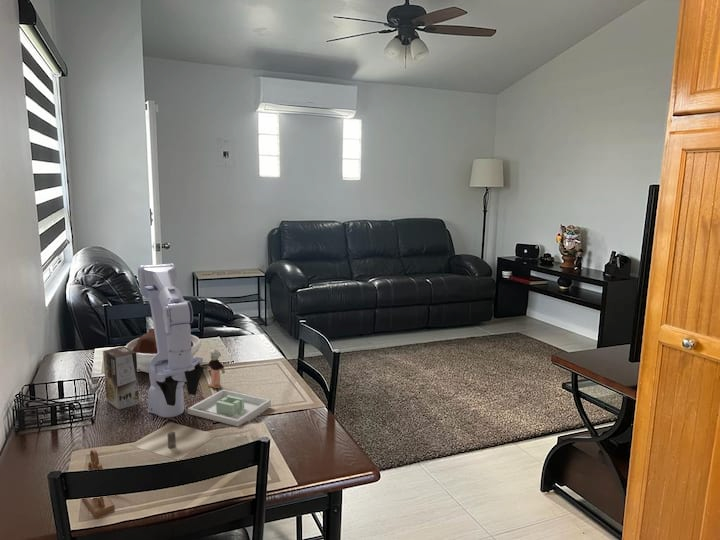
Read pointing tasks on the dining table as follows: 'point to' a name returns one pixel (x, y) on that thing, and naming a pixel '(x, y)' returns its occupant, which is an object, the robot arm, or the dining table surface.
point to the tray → (251, 407)
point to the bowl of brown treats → (153, 349)
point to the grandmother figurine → (215, 369)
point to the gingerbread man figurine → (103, 503)
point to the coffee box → (121, 377)
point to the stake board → (181, 437)
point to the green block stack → (230, 405)
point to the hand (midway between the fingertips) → (181, 399)
